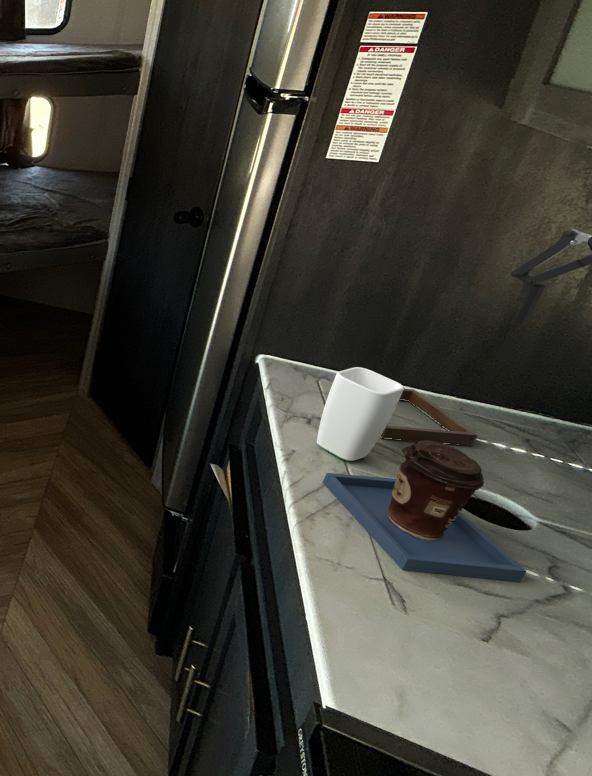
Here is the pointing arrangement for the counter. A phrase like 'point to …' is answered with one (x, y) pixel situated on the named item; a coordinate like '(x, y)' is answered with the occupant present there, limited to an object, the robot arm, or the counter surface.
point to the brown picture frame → (453, 436)
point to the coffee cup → (432, 488)
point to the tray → (443, 556)
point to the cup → (357, 412)
